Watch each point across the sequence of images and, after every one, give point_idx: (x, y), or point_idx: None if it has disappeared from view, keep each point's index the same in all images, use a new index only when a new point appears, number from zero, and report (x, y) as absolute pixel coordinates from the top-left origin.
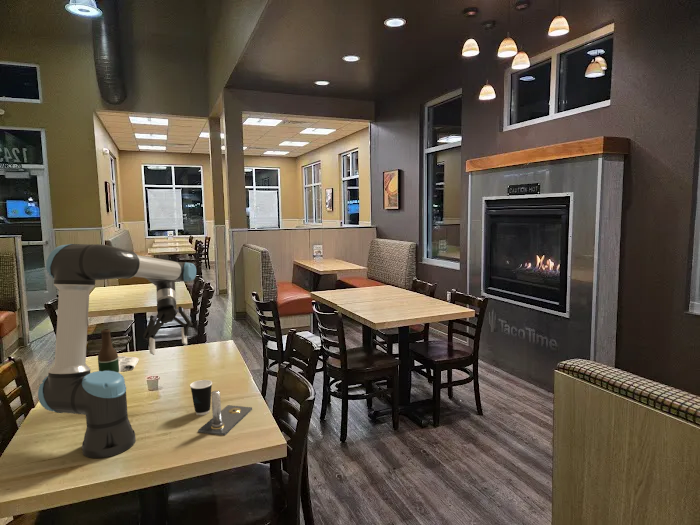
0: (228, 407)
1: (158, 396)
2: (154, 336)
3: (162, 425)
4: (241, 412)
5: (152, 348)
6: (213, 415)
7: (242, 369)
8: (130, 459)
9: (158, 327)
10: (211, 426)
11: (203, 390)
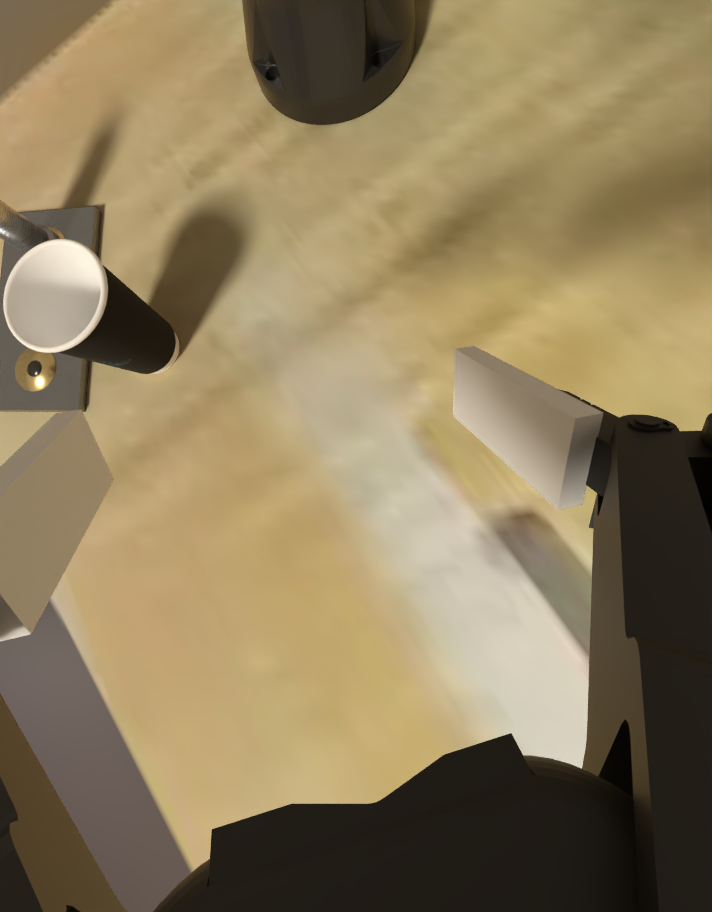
0: (68, 390)
1: (434, 451)
2: (593, 535)
3: (245, 218)
4: (9, 362)
5: (479, 386)
6: (9, 206)
7: (195, 866)
8: (213, 16)
9: (600, 634)
10: (62, 237)
11: (41, 269)
